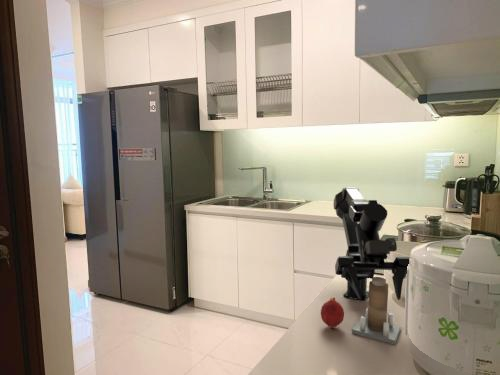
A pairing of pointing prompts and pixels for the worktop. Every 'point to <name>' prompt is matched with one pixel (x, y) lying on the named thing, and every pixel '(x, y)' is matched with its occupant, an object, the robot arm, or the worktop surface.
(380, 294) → the pepper mill
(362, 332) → the pin tray
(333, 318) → the pomegranate
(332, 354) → the worktop surface
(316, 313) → the worktop surface
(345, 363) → the worktop surface
